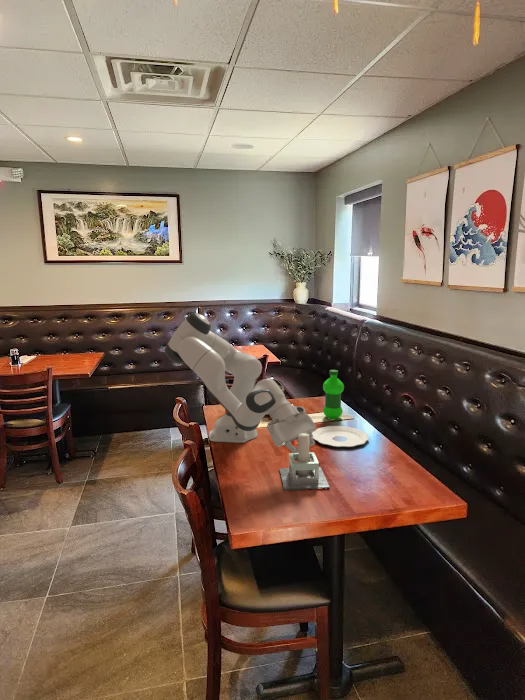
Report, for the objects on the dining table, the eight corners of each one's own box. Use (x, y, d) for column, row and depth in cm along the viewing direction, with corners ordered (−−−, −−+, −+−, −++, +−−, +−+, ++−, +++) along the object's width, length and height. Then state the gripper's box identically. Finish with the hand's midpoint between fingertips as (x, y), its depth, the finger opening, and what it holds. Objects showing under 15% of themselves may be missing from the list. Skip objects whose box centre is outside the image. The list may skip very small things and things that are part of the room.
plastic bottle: (330, 413, 236) (331, 367, 231) (346, 418, 228) (348, 370, 224) (318, 417, 229) (319, 370, 225) (334, 422, 222) (335, 374, 217)
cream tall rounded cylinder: (298, 479, 160) (299, 437, 158) (297, 474, 165) (297, 433, 162) (309, 479, 161) (310, 436, 158) (308, 474, 165) (308, 433, 162)
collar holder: (284, 490, 154) (284, 468, 153) (279, 470, 170) (279, 449, 169) (329, 489, 155) (330, 466, 154) (320, 468, 171) (321, 448, 170)
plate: (333, 454, 184) (334, 450, 184) (301, 435, 206) (301, 431, 206) (380, 443, 196) (380, 439, 195) (344, 426, 218) (344, 422, 217)
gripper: (269, 419, 156) (290, 453, 151) (306, 406, 171) (326, 437, 166) (260, 428, 160) (280, 461, 155) (297, 414, 174) (317, 445, 169)
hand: (304, 448), depth 160 cm, fingers open, 8 cm apart
